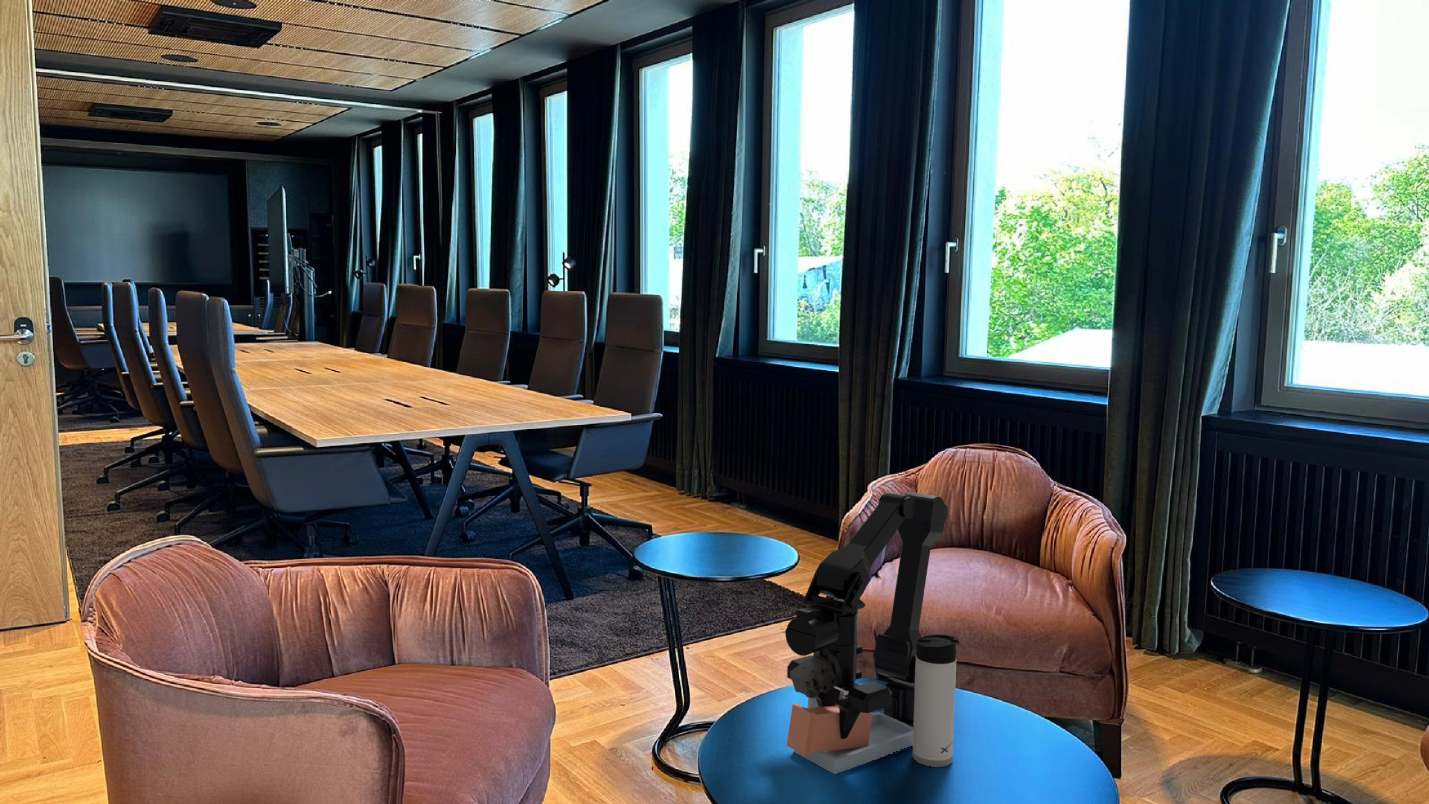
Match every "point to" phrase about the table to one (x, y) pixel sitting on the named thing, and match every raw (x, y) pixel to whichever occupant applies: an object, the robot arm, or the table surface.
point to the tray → (882, 741)
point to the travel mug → (934, 700)
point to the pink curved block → (824, 730)
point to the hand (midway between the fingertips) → (836, 734)
